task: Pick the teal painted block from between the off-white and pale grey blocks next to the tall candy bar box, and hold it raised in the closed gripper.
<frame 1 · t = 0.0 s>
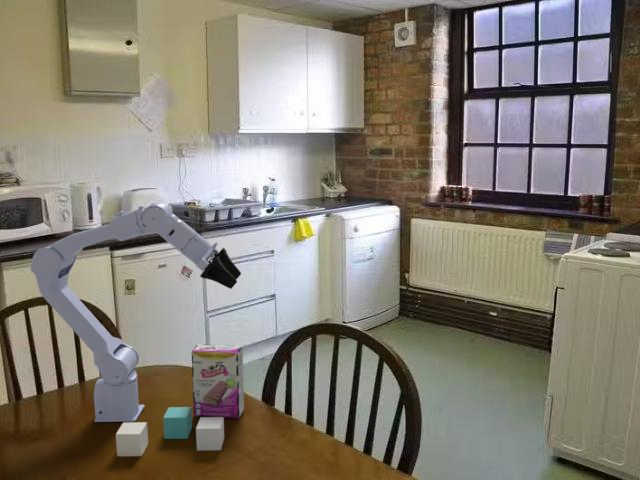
hand: (236, 281, 136), 32 cm above the table, tool tilted 50°, fingers open, 7 cm apart
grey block: (210, 444, 128), on the table
teal block: (178, 433, 133), on the table
candy bar box: (219, 414, 142), on the table
offwhite block: (133, 450, 126), on the table
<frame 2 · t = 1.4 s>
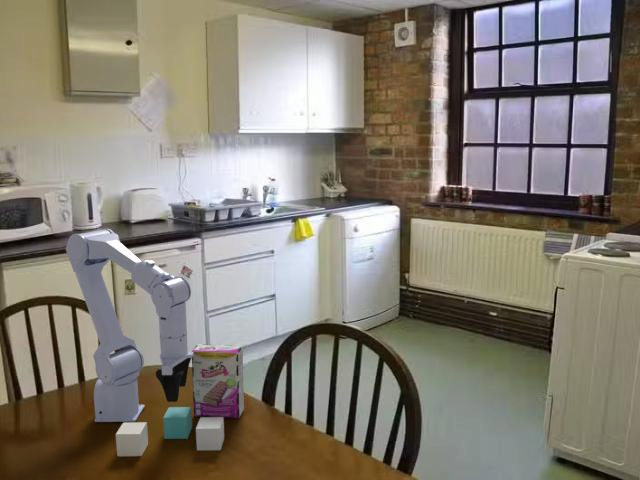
hand: (176, 393, 131), 9 cm above the table, tool pointing down, fingers open, 7 cm apart
nothing on the table moved.
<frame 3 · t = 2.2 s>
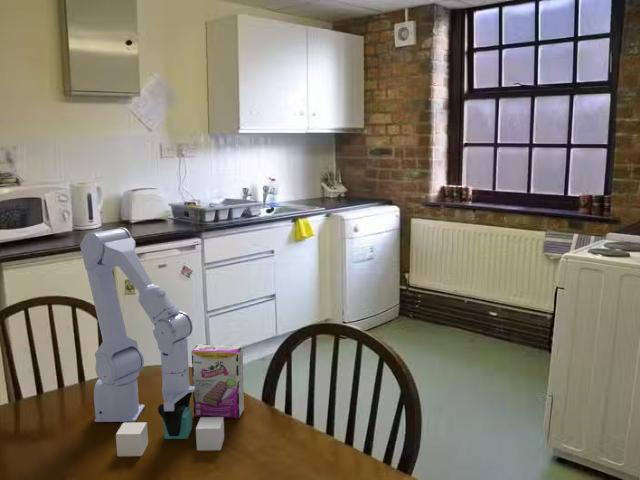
hand: (178, 426, 133), 1 cm above the table, tool pointing down, fingers open, 7 cm apart
nothing on the table moved.
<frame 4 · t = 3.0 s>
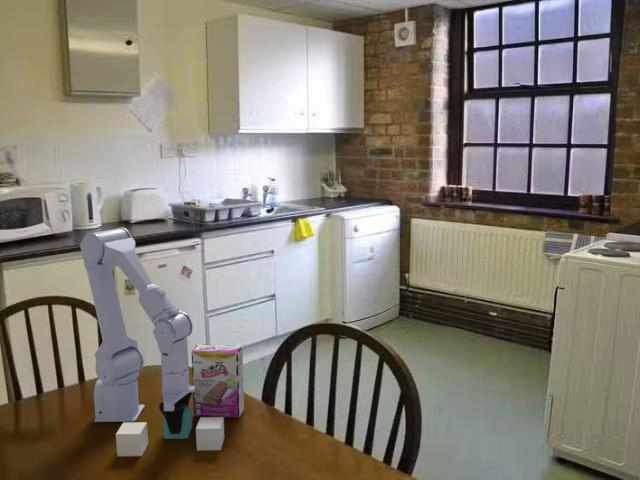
hand: (178, 426, 133), 1 cm above the table, tool pointing down, fingers closed on teal block, 5 cm apart
teal block: (178, 432, 133), on the table, touching gripper
everything else where it was.
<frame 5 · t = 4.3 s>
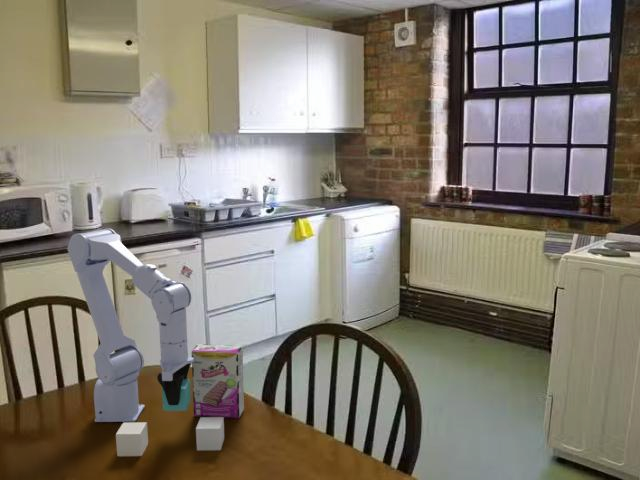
hand: (176, 398, 132), 8 cm above the table, tool pointing down, fingers closed on teal block, 5 cm apart
teal block: (177, 405, 132), point 6 cm above the table, touching gripper
everything else where it was.
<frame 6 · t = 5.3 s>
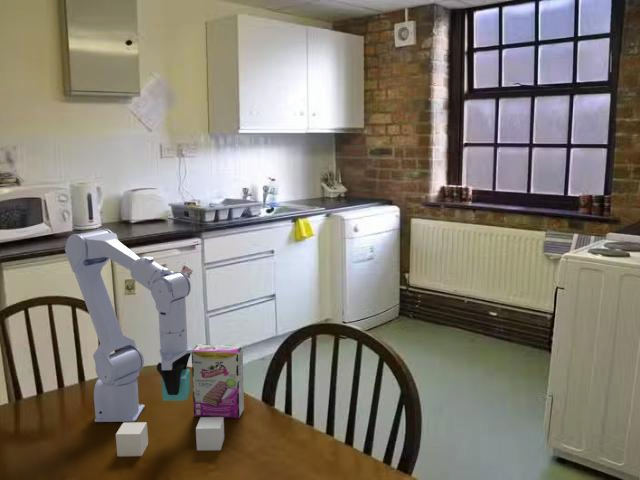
hand: (176, 388, 131), 10 cm above the table, tool pointing down, fingers closed on teal block, 5 cm apart
teal block: (177, 395, 132), point 9 cm above the table, touching gripper
everything else where it was.
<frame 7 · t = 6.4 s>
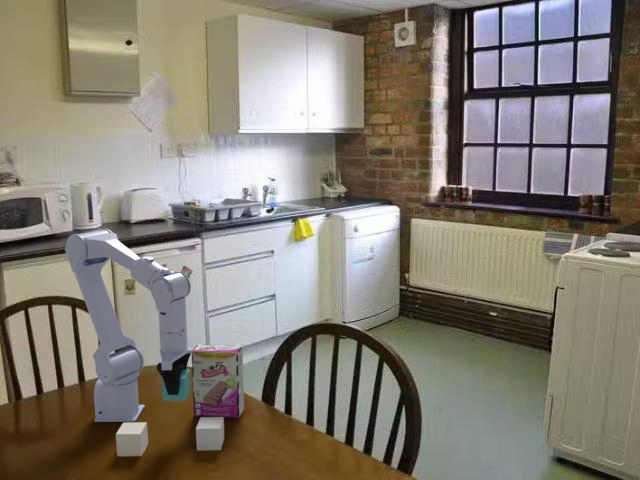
hand: (176, 388, 131), 10 cm above the table, tool pointing down, fingers closed on teal block, 5 cm apart
teal block: (177, 395, 132), point 9 cm above the table, touching gripper
everything else where it was.
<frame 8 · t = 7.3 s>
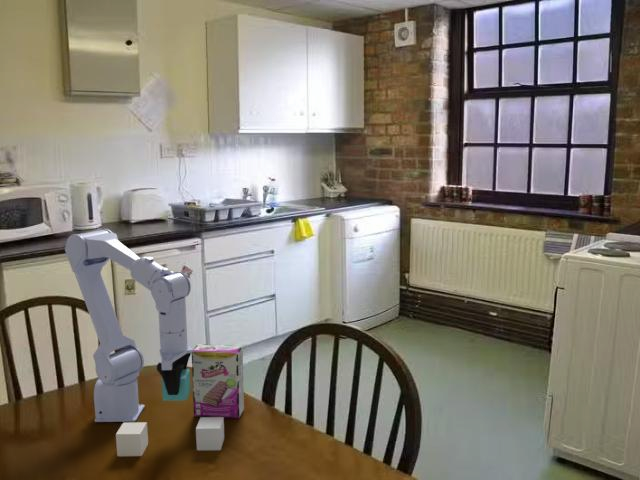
hand: (176, 388, 131), 10 cm above the table, tool pointing down, fingers closed on teal block, 5 cm apart
teal block: (177, 395, 132), point 9 cm above the table, touching gripper
everything else where it was.
at the end: the gripper is holding teal block; teal block point 8.8 cm above the table; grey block moved 0.1 cm from its start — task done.
